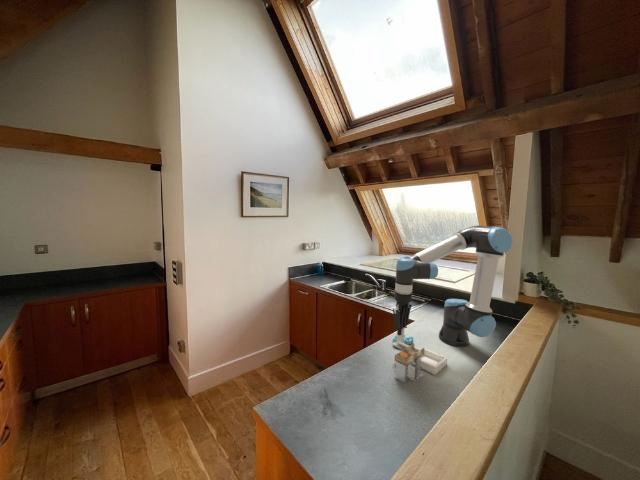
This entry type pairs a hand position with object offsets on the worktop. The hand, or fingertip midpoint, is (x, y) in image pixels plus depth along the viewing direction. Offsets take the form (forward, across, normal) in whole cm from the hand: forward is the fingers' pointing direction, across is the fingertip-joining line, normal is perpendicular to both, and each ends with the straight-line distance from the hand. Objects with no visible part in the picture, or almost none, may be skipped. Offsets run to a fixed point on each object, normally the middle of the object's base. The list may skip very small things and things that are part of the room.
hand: (400, 340), depth 123 cm
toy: (+11, -17, -9) cm, 22 cm away
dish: (+10, -9, +10) cm, 17 cm away
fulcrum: (+10, +7, +8) cm, 15 cm away
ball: (0, +10, +8) cm, 13 cm away
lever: (+3, +5, +4) cm, 7 cm away
